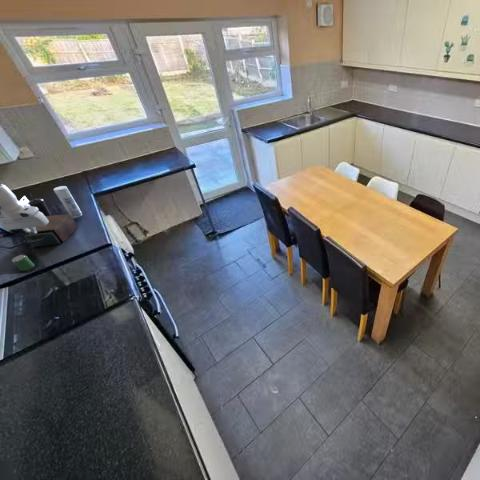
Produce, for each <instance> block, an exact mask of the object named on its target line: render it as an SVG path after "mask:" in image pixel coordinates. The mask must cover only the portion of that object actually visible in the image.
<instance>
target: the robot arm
mask: <svg viewBox="0 0 480 480" xmlns="http://www.w3.org/2000/svg"><path fill="white" fill-rule="evenodd" d="M19 201H20V200H18V199H17V196H16V194H15V193H14V192H13V191H12V190H11V189H10V188H9V187H7V186H6V185H5V184H3V183H0V227H1V229H3V230H4V231H13V230H22V231H24V232H28V233H29V234H36V233H37V231H36V227H41V226H46V225H47V224H48V223H49V221H48V219H47V218H46V217H45V216H44V214H42V213H41V212H39V211H38V210H39V209H38V208H37V207H32V206H26V205H23V204H22V203H21V202H19ZM30 229H32V230H30Z"/></svg>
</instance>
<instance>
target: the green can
mask: <svg viewBox="0 0 480 480" xmlns="http://www.w3.org/2000/svg"><path fill="white" fill-rule="evenodd" d="M11 262H12V264H14V266H16V267H17V269H18V270H19V271H21V272H22V273H23V274H29V273H32V272H33V270H30V269H32V268H34V267H35V263H33V261H32V260H31V259H29V257H28V256H27V255H25V254H19V255H17V256H15V257H13V258H12V259H11Z"/></svg>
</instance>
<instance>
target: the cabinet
mask: <svg viewBox="0 0 480 480" xmlns="http://www.w3.org/2000/svg"><path fill="white" fill-rule="evenodd" d="M45 217H46V218H47V219H48V221H49V223H48V224H47V225H46V226H41V227H36V231H37V233H38V232H47V231H53V232H54V233H55V234H56V235H57V237H58V238H59V239H60V240H61V241H60V242H61V243H65V242H66V241H67V240H68V239H69V238H70V237H71V236H72V234H73V233H74V232H75V231H76V230H77V229H78V227H79V225H78V224H77V222H76V220H74V218H72V217H71V215H70V214H69V213H64V214H53V215H52V216H45ZM29 229H30V228H29ZM30 230H32V229H30ZM24 234H25V235H30V234H29V233H28V232H26V231H24Z"/></svg>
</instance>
